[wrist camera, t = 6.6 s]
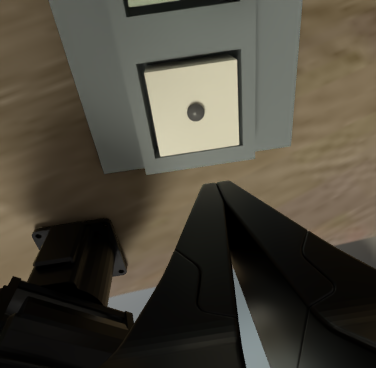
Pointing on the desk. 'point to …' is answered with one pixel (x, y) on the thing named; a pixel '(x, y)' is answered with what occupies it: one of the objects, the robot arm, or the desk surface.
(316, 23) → the desk surface
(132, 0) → the tile
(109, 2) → the board
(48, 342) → the robot arm
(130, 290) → the desk surface
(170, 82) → the tile
